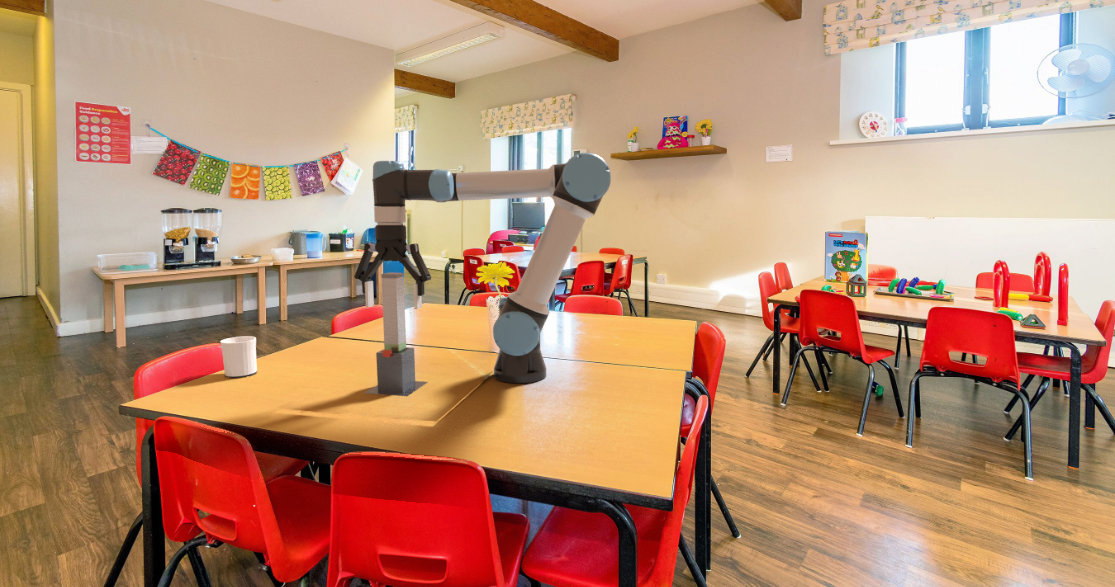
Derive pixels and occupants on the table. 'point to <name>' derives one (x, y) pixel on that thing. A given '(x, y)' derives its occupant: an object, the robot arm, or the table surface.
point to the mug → (239, 356)
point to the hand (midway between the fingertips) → (393, 307)
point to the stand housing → (396, 373)
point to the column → (393, 312)
